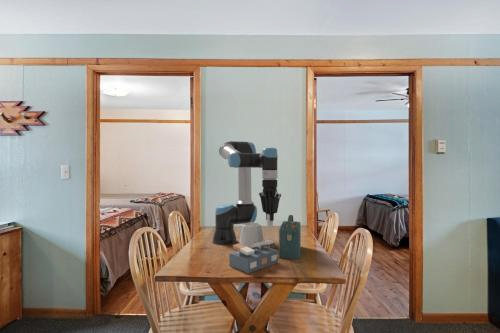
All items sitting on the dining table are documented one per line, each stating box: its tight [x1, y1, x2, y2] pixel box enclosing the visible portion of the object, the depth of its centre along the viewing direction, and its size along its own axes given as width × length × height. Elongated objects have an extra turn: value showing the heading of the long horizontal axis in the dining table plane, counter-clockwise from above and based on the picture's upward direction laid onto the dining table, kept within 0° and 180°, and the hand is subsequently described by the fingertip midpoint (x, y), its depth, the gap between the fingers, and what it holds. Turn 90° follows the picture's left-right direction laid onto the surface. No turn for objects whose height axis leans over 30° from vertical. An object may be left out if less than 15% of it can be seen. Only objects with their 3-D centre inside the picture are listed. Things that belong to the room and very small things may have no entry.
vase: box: [238, 222, 265, 246], centre depth 151 cm, size 14×14×15 cm
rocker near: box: [232, 242, 255, 255], centre depth 125 cm, size 10×5×2 cm, turn 44°
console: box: [228, 244, 279, 274], centre depth 130 cm, size 13×21×8 cm, turn 134°
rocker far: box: [258, 239, 274, 247], centre depth 135 cm, size 10×5×2 cm, turn 44°
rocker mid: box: [247, 242, 264, 250], centre depth 130 cm, size 10×5×2 cm, turn 44°
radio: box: [278, 214, 302, 260], centre depth 150 cm, size 26×11×20 cm, turn 168°
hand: (269, 227), depth 132 cm, fingers closed
